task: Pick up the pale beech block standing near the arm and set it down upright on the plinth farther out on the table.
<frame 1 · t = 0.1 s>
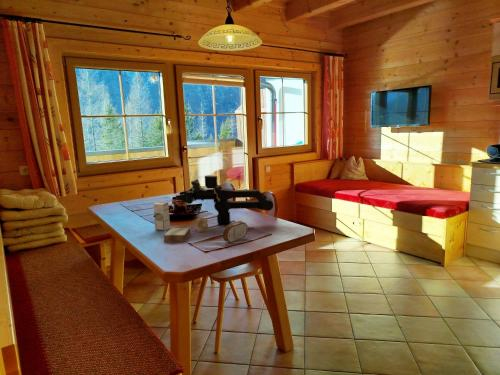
hand: (177, 195, 189), 17 cm above the table, tool horizontal, fingers open, 9 cm apart
tin: (236, 240, 162), on the table
plinth: (177, 237, 168), on the table
block: (202, 230, 179), on the table
syrup box: (162, 229, 183), on the table
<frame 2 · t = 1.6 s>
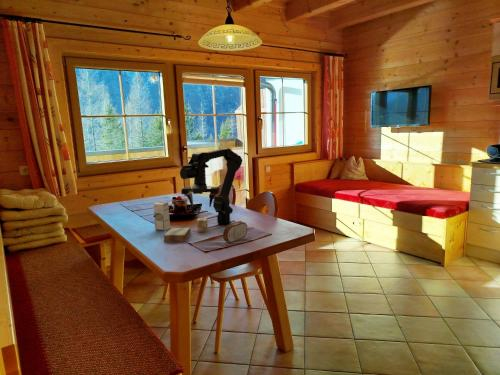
hand: (201, 206, 177), 12 cm above the table, tool pointing down, fingers open, 9 cm apart
nothing on the table moved.
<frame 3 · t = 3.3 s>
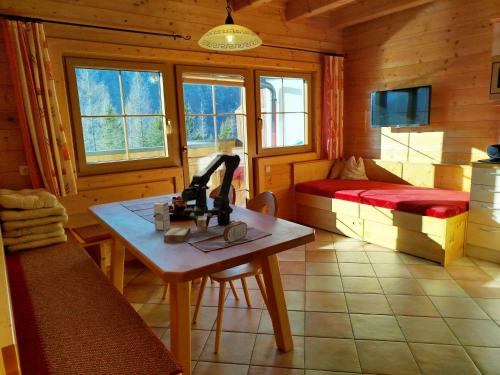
hand: (202, 227, 179), 1 cm above the table, tool pointing down, fingers closed on block, 4 cm apart
block: (202, 230, 179), on the table, touching gripper
everything else where it was.
when the fingers open (5 cm above the table, at t = 7.1 s): block stays where it is, resting on plinth.
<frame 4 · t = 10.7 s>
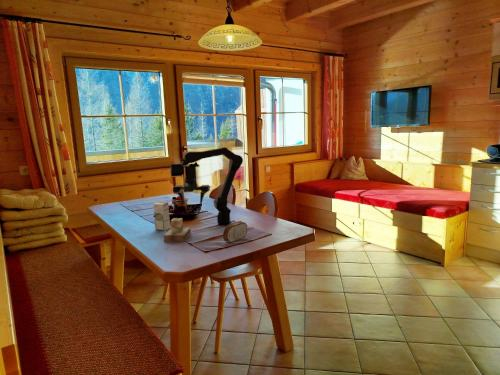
hand: (192, 204, 183), 13 cm above the table, tool pointing down, fingers open, 9 cm apart
block: (177, 231, 167), point 3 cm above the table, touching plinth
everything else where it was.
at the end: block inside the target area on the plinth (0.0 cm from its centre), point 3.3 cm above the plinth's base; block tilted 0°; the gripper is holding nothing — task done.
